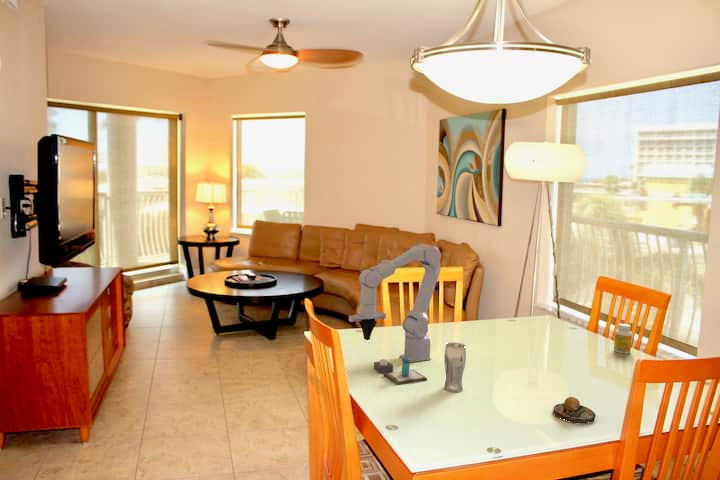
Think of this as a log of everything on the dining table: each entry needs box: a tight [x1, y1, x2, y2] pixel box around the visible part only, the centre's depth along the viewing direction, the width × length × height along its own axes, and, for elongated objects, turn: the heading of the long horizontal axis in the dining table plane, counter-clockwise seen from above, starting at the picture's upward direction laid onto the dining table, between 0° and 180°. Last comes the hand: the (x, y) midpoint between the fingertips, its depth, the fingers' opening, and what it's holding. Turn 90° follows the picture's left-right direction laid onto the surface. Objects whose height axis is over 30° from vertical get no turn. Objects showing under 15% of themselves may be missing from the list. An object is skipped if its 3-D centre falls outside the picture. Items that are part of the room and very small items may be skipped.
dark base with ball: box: [552, 394, 596, 424], centre depth 175 cm, size 12×12×8 cm
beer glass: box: [443, 342, 467, 393], centre depth 193 cm, size 7×7×15 cm
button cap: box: [379, 358, 389, 366], centre depth 209 cm, size 3×3×3 cm
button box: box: [373, 360, 394, 375], centre depth 209 cm, size 5×5×3 cm
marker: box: [401, 357, 411, 377], centre depth 202 cm, size 3×3×6 cm
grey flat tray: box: [383, 369, 428, 386], centre depth 202 cm, size 12×9×1 cm
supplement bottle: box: [613, 323, 633, 354], centre depth 242 cm, size 6×6×11 cm
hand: (366, 339), depth 214 cm, fingers closed
